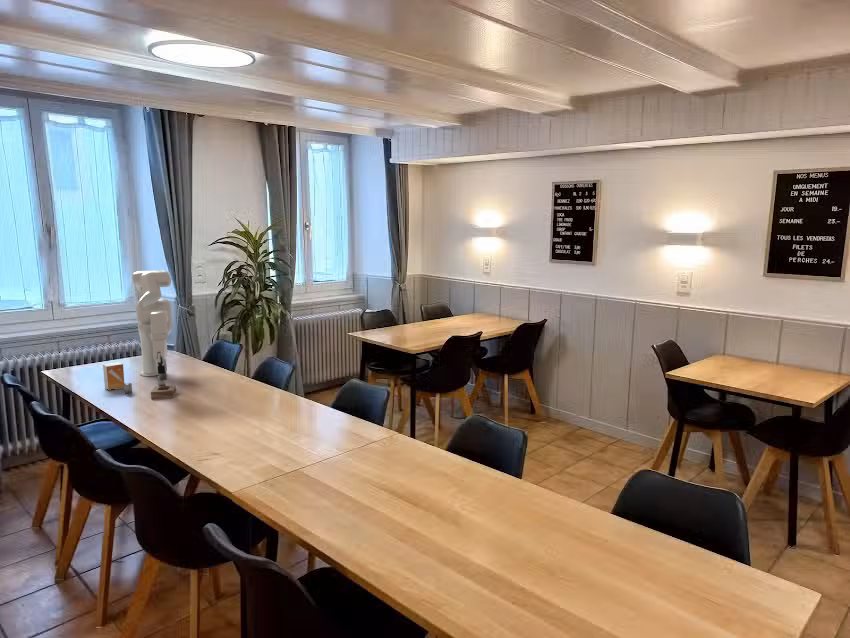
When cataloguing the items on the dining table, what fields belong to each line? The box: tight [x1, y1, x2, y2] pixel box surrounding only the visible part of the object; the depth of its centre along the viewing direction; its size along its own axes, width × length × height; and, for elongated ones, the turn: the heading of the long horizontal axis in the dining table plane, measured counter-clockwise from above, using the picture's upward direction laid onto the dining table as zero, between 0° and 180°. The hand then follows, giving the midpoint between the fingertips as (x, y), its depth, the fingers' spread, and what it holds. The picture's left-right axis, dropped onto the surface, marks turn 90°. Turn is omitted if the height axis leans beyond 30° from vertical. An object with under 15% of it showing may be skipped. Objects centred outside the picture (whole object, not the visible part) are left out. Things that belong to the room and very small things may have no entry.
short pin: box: [123, 382, 133, 395], centre depth 293 cm, size 4×4×5 cm
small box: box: [102, 361, 126, 391], centre depth 301 cm, size 8×6×13 cm
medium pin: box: [157, 375, 167, 386], centre depth 297 cm, size 4×4×8 cm
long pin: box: [158, 358, 168, 381], centre depth 288 cm, size 4×4×12 cm
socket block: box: [150, 384, 177, 400], centre depth 291 cm, size 10×10×4 cm
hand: (162, 372), depth 289 cm, fingers closed on long pin, 3 cm apart
